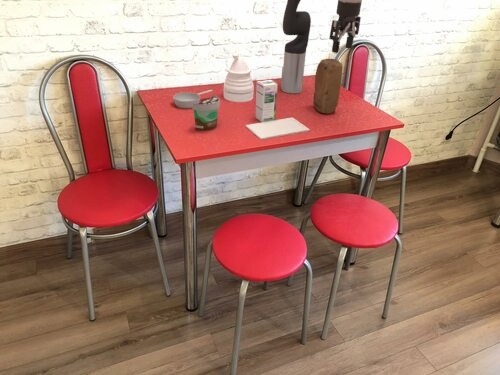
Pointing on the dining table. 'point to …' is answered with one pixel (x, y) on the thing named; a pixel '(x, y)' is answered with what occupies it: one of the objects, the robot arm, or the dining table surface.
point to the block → (327, 85)
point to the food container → (206, 113)
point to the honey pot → (238, 82)
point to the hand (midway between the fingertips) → (341, 50)
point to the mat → (277, 128)
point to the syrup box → (266, 100)
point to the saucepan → (187, 99)
